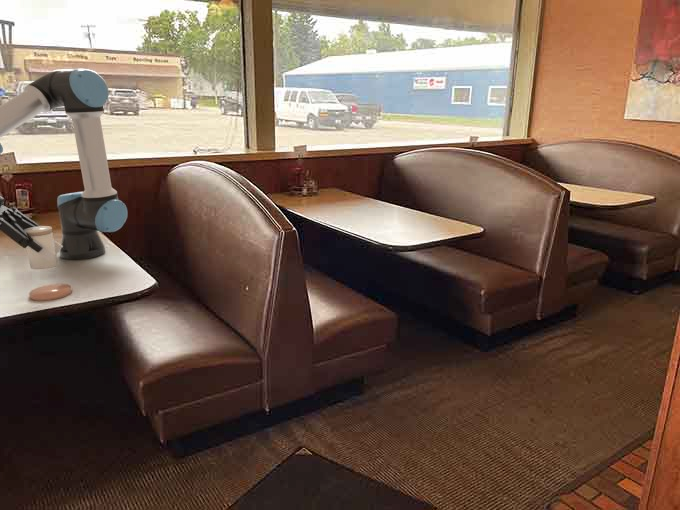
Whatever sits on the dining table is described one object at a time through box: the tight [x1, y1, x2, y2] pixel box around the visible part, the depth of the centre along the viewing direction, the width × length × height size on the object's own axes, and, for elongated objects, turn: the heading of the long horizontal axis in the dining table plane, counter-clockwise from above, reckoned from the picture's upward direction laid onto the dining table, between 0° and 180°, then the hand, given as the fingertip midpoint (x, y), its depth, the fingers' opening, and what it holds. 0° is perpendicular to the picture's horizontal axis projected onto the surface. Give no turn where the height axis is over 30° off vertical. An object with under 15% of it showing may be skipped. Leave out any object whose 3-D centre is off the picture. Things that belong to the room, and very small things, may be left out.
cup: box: [24, 225, 59, 270], centre depth 149 cm, size 7×7×11 cm
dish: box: [28, 283, 73, 302], centre depth 153 cm, size 11×11×1 cm
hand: (55, 253), depth 150 cm, fingers closed on cup, 7 cm apart
